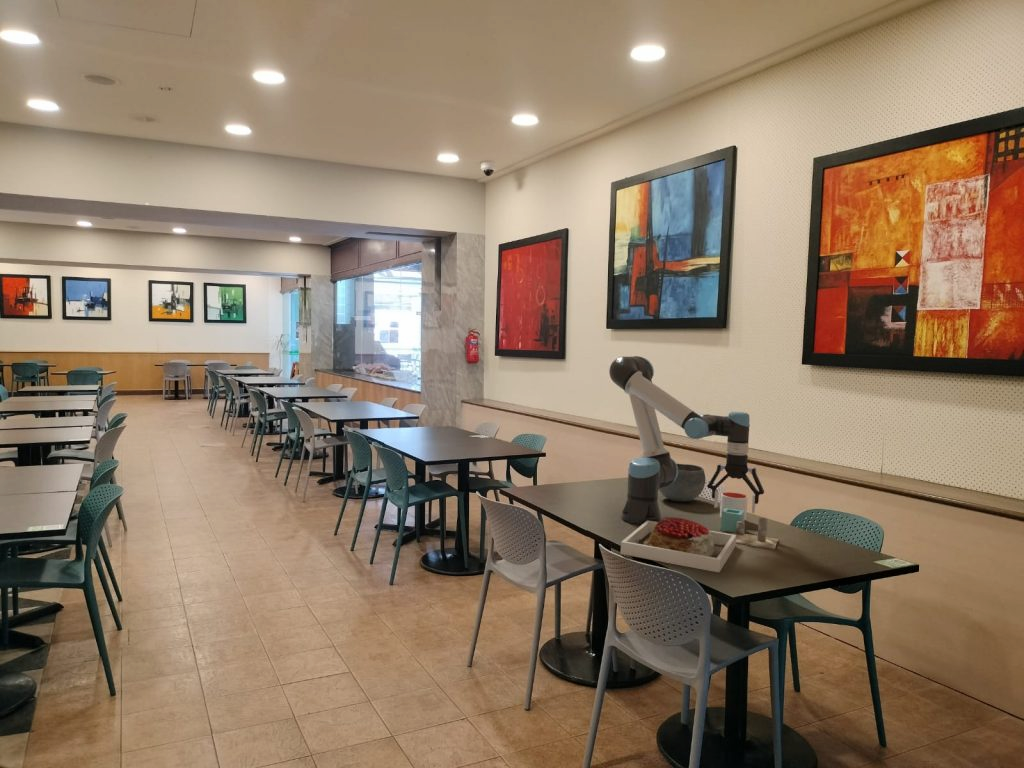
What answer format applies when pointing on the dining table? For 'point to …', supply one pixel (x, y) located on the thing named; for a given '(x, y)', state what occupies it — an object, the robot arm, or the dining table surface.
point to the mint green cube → (731, 519)
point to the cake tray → (678, 557)
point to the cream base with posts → (753, 539)
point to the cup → (734, 502)
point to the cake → (681, 537)
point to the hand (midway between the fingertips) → (734, 509)
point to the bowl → (685, 483)
